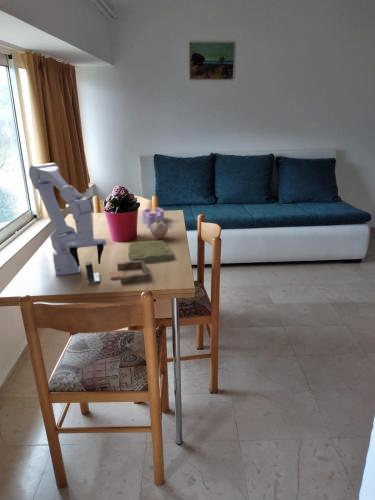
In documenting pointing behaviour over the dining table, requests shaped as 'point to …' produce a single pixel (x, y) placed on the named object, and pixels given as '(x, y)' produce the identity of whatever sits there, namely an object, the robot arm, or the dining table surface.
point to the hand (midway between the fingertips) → (89, 264)
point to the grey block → (92, 274)
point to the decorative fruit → (159, 229)
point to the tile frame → (136, 277)
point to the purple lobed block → (152, 216)
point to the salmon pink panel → (116, 275)
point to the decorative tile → (149, 251)
